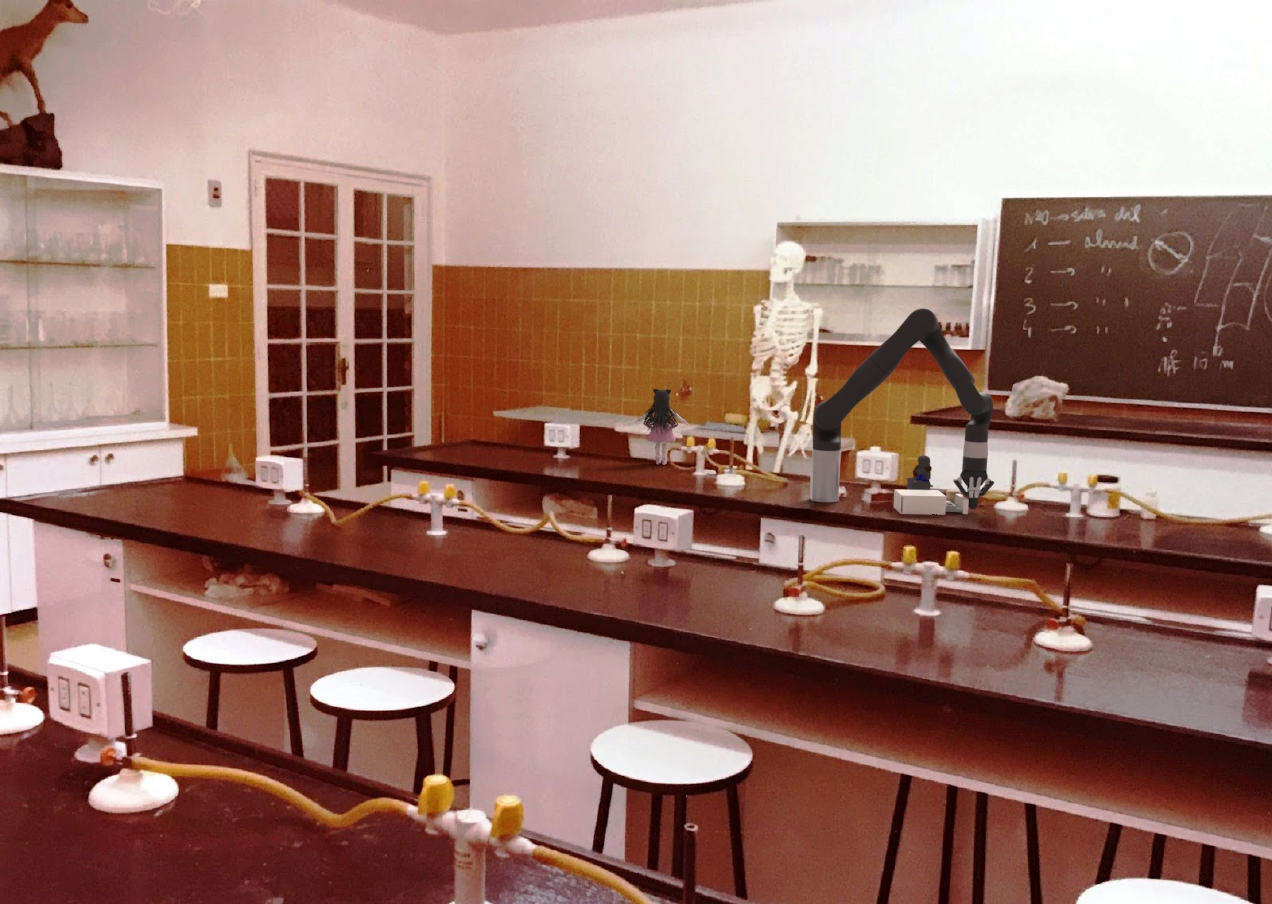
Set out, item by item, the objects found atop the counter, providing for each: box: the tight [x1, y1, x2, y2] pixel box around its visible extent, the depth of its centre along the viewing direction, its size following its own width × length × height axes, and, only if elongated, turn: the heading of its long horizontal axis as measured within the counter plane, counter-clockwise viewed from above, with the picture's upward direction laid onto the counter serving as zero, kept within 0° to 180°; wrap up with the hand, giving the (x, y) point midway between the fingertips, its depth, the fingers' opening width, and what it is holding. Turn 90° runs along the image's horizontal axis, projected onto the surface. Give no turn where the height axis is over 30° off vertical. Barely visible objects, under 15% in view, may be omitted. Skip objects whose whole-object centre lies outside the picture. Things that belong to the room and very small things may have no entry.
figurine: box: [633, 388, 690, 466], centre depth 452 cm, size 22×10×30 cm, turn 77°
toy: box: [905, 455, 934, 490], centre depth 384 cm, size 11×10×15 cm
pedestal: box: [945, 489, 961, 504], centre depth 373 cm, size 4×4×5 cm
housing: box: [893, 489, 946, 516], centre depth 364 cm, size 14×11×6 cm
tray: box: [945, 493, 969, 515], centre depth 364 cm, size 16×11×5 cm, turn 89°
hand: (972, 508), depth 364 cm, fingers closed
